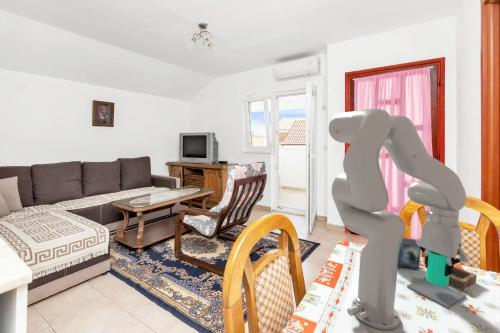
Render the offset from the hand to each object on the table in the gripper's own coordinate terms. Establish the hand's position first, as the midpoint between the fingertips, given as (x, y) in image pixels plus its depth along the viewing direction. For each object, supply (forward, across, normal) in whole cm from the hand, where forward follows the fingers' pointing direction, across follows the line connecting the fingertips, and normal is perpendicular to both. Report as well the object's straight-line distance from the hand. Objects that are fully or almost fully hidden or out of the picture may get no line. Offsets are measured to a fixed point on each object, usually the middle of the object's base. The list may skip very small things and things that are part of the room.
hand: (438, 270), depth 80 cm
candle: (+4, 0, 0) cm, 4 cm away
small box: (+8, -16, +7) cm, 19 cm away
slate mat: (+8, 0, 0) cm, 8 cm away
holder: (+8, -1, +14) cm, 16 cm away
